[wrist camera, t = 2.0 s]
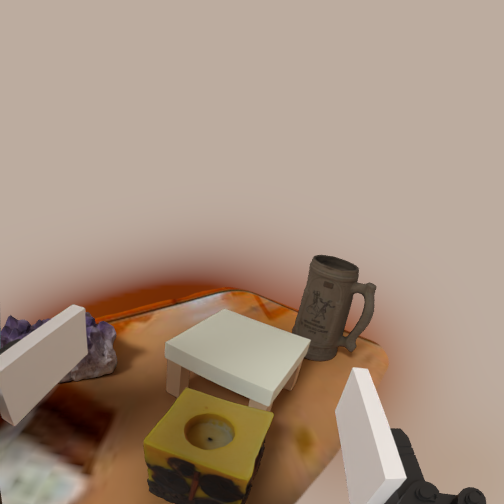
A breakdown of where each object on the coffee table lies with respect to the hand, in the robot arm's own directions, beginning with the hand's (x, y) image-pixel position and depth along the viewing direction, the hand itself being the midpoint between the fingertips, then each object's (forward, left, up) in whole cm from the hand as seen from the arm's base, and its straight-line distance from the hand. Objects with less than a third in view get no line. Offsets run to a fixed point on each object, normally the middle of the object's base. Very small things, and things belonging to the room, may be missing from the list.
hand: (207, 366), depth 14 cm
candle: (-3, +9, -24) cm, 26 cm away
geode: (-32, +10, -24) cm, 42 cm away
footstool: (-9, +27, -24) cm, 37 cm away
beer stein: (0, +49, -24) cm, 55 cm away
